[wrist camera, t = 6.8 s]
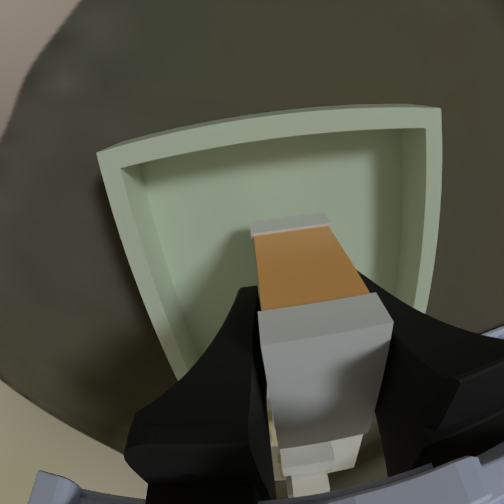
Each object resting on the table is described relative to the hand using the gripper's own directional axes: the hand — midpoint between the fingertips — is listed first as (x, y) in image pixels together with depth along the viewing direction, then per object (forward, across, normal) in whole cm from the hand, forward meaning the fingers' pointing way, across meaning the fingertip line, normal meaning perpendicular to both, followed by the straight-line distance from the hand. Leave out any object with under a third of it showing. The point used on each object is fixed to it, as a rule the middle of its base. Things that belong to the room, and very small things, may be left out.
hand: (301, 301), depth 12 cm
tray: (+4, 0, 0) cm, 4 cm away
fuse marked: (+2, 0, 0) cm, 3 cm away
